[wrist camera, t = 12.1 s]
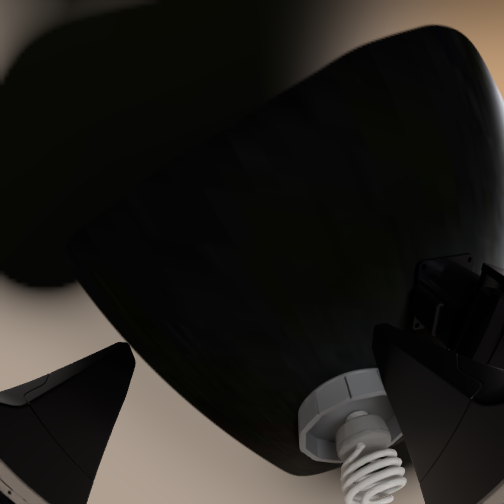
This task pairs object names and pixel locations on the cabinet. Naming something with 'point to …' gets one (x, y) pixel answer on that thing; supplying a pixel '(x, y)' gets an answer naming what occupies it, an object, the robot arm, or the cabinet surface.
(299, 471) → the cabinet surface
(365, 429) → the light bulb
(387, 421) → the bowl
